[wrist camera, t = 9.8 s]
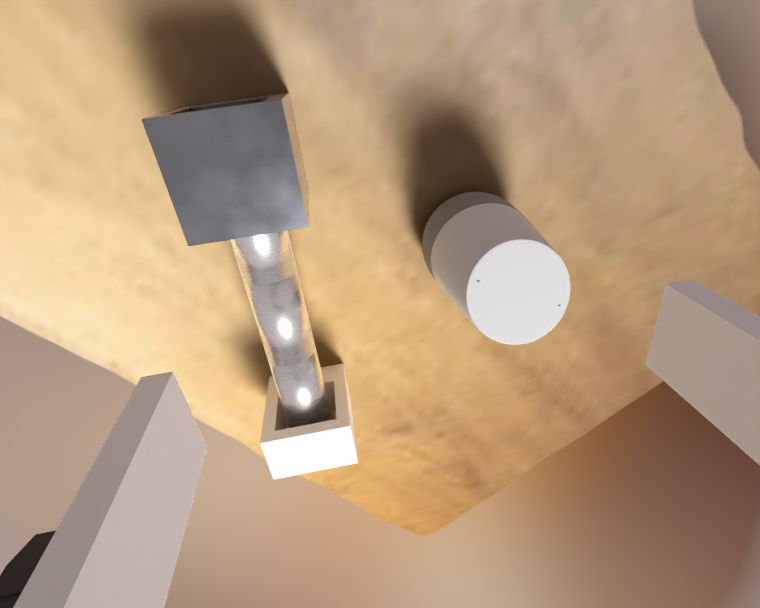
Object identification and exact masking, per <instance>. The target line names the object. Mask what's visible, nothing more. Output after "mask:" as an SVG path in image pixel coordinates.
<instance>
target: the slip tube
mask: <svg viewBox="0 0 760 608" xmlns="http://www.w3.org/2000/svg"><path fill="white" fill-rule="evenodd" d="M230 241H231V244H232V248H233V251H234V254H235V257H236V260H237V263H238V267H239V270H240V273H241V276H242V279H243V283H244V286H245V289H246V292H247V295H248V299H249V302H250V305H251V308H252V311H253V314H254V318H255V321H256V324H257V327H258V330H259V334H260V337H261V340H262V343H263V346H264V349H265V353H266V356H267V359H268V362H269V365H270V369H271V372H272V375H273V378H274V381H275V384H276V388H277V391H278V394H279V397H280V400H281V404H282V407H283V410H284V413H285V416H286V420H287V424H288V428H293V427H298V426H303V425H308V424H314V423H319V422H324V421H329V420H333V416H332V412H331V408H330V405H329V401H328V397H327V393H326V389H325V384H324V380H323V376H322V372H321V368H320V363H319V359H318V355H317V351H316V347H315V342H314V338H313V334H312V330H311V325H310V321H309V317H308V313H307V309H306V304H305V300H304V296H303V292H302V288H301V283H300V279H299V275H298V271H297V267H296V262H295V258H294V254H293V250H292V245H291V241H290V237H289V233H288V230H287V231H281V232H275V233H268V234H262V235H256V236H250V237H243V238H237V239H231V240H230Z"/></svg>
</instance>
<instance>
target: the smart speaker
mask: <svg viewBox="0 0 760 608" xmlns="http://www.w3.org/2000/svg"><path fill="white" fill-rule="evenodd" d="M422 248H423V255H424V259H425V262H426V265H427V267H428V269H429V271H430V272H431V274H432V276H433V277H434V278H435V280H436V281H437V282H438V284H439V285H440V286H441V287H442V289H443V290H444V291H445V292H446V293H447V294H448V295H449V296H450V298H451V299H452V300H453V301H454V302H455V303H456V304H457V305H458V307H459V308H460V309H461V310H462V311H463V312H464V313H465V314H466V316H467V317H468V318H469V319H470V320H471V321H472V322H473V323H474V325H475V326H476V327H477V328H478V329H479V330H480V331H481V332H482V333H483V334H485V335H486V336H487V337H489V338H491V339H493V340H495V341H498V342H500V343H504V344H525V343H529V342H532V341H535V340H537V339H539V338H541V337H542V336H544V335H545V334H547V333H548V332H549V331H551V330H552V329H553V328H554V327H555V325H556V324H557V323H558V322H559V320H560V319H561V317H562V316H563V314H564V312H565V310H566V308H567V305H568V301H569V297H570V278H569V274H568V271H567V268H566V266H565V264H564V262H563V260H562V259H561V257H560V256H559V255H558V254H557V252H556V251H555V250H554V249H553V248H552V247H551V246H550V245H549V243H548V242H547V241H546V240H545V239H544V238H543V237H542V236H541V234H540V233H539V232H538V231H537V230H536V229H535V228H534V226H533V225H532V224H531V223H530V222H529V221H528V220H527V219H526V218H525V216H524V215H523V214H522V213H520V212H519V211H518V210H517V209H516V208H515V207H514V206H512V205H511V204H510V203H509V202H507V201H506V200H504V199H502V198H500V197H498V196H495V195H493V194H489V193H484V192H466V193H462V194H458V195H456V196H453V197H451V198H449V199H448V200H446V201H445V202H443V203H442V204H441V205H440V206H439V207H438V208H437V209H436V210H435V211H434V212H433V213H432V215H431V216H430V218H429V220H428V222H427V224H426V226H425V229H424V233H423V240H422Z"/></svg>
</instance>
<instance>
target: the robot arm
mask: <svg viewBox="0 0 760 608" xmlns="http://www.w3.org/2000/svg"><path fill="white" fill-rule="evenodd" d="M645 365H646V366H648V367H649V368H650V369H651V370H652V371H653V372H654V373H656V374H657V375H658V376H659V377H660V378H661V379H662V380H664V381H665V382H666V383H667V384H668V385H669V386H670V387H672V388H673V389H674V390H675V391H676V392H677V393H679V395H681V396H682V397H683V398H684V399H685V400H686V401H687V402H689V403H690V404H691V405H692V406H693V407H694V408H695V409H696V410H698V411H699V412H700V413H701V414H702V415H703V416H705V417H706V418H707V419H708V420H709V421H710V422H711V423H713V424H714V425H715V426H716V427H717V428H718V429H719V430H720V431H721V432H723V433H724V434H725V435H726V436H727V437H728V438H729V439H731V440H732V441H733V442H734V443H735V444H736V445H738V446H739V447H740V448H741V449H742V450H743V451H744V452H745V453H746V454H748V455H749V456H750V457H751V458H752V459H753V460H754V461H756V462H757V463H758V464H759V465H760V316H758V315H756V314H754V313H753V312H751V311H749V310H747V309H745V308H743V307H742V306H740V305H738V304H736V303H734V302H732V301H731V300H729V299H727V298H725V297H723V296H721V295H720V294H718V293H716V292H714V291H712V290H711V289H709V288H707V287H705V286H703V285H701V284H700V283H698V282H696V281H694V280H686V281H681V282H675V283H670V284H666V285H665V289H664V293H663V297H662V301H661V305H660V309H659V313H658V317H657V321H656V324H655V328H654V332H653V336H652V340H651V344H650V348H649V352H648V356H647V360H646V363H645ZM207 449H208V447H207V445H206V442H205V440H204V438H203V436H202V434H201V432H200V430H199V427H198V425H197V423H196V421H195V419H194V417H193V414H192V412H191V410H190V408H189V406H188V404H187V402H186V399H185V397H184V395H183V393H182V391H181V389H180V387H179V384H178V382H177V380H176V378H175V376H174V374H173V372H168V373H163V374H157V375H152V376H146V377H141V379H140V381H139V382H138V384H137V386H136V388H135V390H134V392H133V393H132V395H131V397H130V399H129V401H128V402H127V404H126V406H125V408H124V409H123V411H122V413H121V415H120V417H119V419H118V420H117V422H116V424H115V426H114V427H113V429H112V431H111V433H110V435H109V437H108V438H107V440H106V442H105V444H104V445H103V447H102V449H101V451H100V453H99V454H98V456H97V458H96V460H95V462H94V463H93V465H92V467H91V469H90V471H89V472H88V474H87V476H86V478H85V480H84V481H83V483H82V485H81V487H80V489H79V490H78V492H77V494H76V496H75V498H74V499H73V501H72V503H71V505H70V507H69V508H68V510H67V512H66V514H65V516H64V518H63V519H62V521H61V523H60V525H59V527H58V528H57V530H56V531H52V532H46V533H42V534H36V535H35V536H34V537H33V538H32V539H31V540H30V541H29V542H28V543H27V545H26V546H25V547H24V548H23V549H22V550H21V551H20V552H19V553H18V554H17V555H16V556H15V557H14V558H13V559H12V560H11V562H9V564H8V565H7V566H6V567H5V569H4V571H3V572H2V574H1V576H0V608H164V606H165V602H166V598H167V595H168V591H169V588H170V584H171V580H172V577H173V573H174V569H175V566H176V562H177V558H178V555H179V551H180V548H181V544H182V540H183V537H184V533H185V529H186V526H187V522H188V519H189V515H190V511H191V508H192V504H193V500H194V497H195V493H196V489H197V485H198V482H199V478H200V475H201V471H202V468H203V463H204V460H205V457H206V453H207Z"/></svg>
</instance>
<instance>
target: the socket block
mask: <svg viewBox="0 0 760 608" xmlns="http://www.w3.org/2000/svg"><path fill="white" fill-rule="evenodd" d="M320 368H321V372H322V376H323V380H324V384H325V389H326V393H327V397H328V401H329V405H330V408H331V412H332V416H333V420H329V421H324V422H319V423H314V424H308V425H303V426H298V427H293V428H288V424H287V420H286V416H285V413H284V410H283V407H282V404H281V400H280V397H279V394H278V391H277V388H276V384H275V381H274V378H273V376H270V377H269V383H268V390H267V398H266V405H265V412H264V419H263V427H262V434H261V441H260V444H261V447H262V450H263V452H264V455H265V458H266V460H267V463H268V466H269V468H270V471H271V474H272V476H273V479H278V478H284V477H289V476H294V475H299V474H304V473H309V472H314V471H319V470H324V469H329V468H334V467H339V466H344V465H349V464H355V463H358V459H357V451H356V442H355V434H354V425H353V417H352V408H351V400H350V394H349V389H348V384H347V379H346V374H345V369H344V364H343V363H342V364H336V365H331V366H325V367H320Z"/></svg>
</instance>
